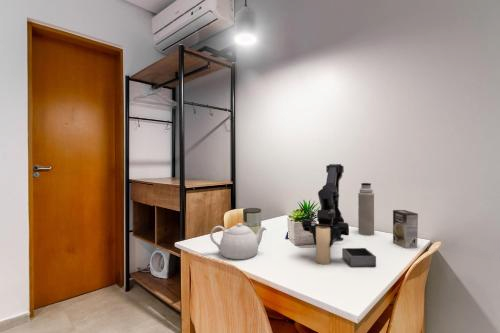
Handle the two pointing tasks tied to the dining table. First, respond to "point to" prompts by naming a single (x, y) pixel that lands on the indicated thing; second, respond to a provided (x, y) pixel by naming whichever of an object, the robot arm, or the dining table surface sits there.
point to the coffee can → (252, 219)
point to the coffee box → (405, 228)
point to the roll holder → (358, 257)
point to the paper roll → (323, 245)
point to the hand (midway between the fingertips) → (322, 245)
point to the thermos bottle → (366, 210)
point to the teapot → (238, 241)
